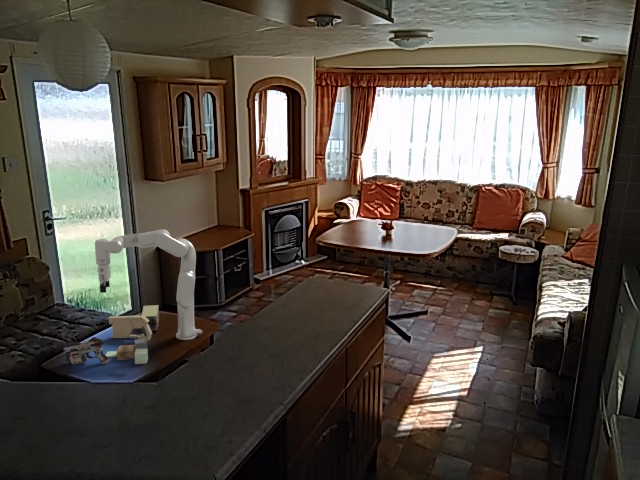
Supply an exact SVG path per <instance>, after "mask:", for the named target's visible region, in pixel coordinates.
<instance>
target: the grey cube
mask: <svg viewBox="0 0 640 480" xmlns="http://www.w3.org/2000/svg"><path fill="white" fill-rule="evenodd" d="M133 342H134V344H133V345H134V346H135V351H136V349H146V348H148V341H147V340H146V339H145V338H144V339H140V338H137V339H134V341H133Z"/></svg>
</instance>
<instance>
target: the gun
mask: <svg viewBox="0 0 640 480" xmlns="http://www.w3.org/2000/svg"><path fill="white" fill-rule="evenodd" d="M141 315H142V314H141ZM141 315H121V316H120V315H119V316H118V315H117V316H116V315H115V316H114V315H113V316H109V317H108V324H109V325H111V327H112V329H111V330H112V336H111V339H129V338H131V339H133V338H136V339H144V338H145V339H146V341H147V342H149V341H150V340H151V338H152V335H153V330H152V331H151V329H150V327H149V325H148V322H149V320H148V319H147V318H146V317H145V316H143V315H142V316H141ZM134 329H138V331H140V330H141V333H139V334H138V333H137V334H132V331H133V330H134Z"/></svg>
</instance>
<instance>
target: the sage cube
mask: <svg viewBox="0 0 640 480" xmlns="http://www.w3.org/2000/svg"><path fill="white" fill-rule="evenodd" d="M148 350H149V349H148V347H147V348H146V349H136V351H135V354H134V364H135V365H140V364H141V365H143V364H144V365H145V364H147V363H148V361H149V351H148Z"/></svg>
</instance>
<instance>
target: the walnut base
mask: <svg viewBox="0 0 640 480" xmlns="http://www.w3.org/2000/svg"><path fill="white" fill-rule="evenodd" d="M116 351H117V357H116V360H117V361H123V360H124V361H125V360H133V359H134V358H135V345H134V344H128V345H127V344H124V345H123V344H122V345H119V346H118V348H117V350H116Z"/></svg>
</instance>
